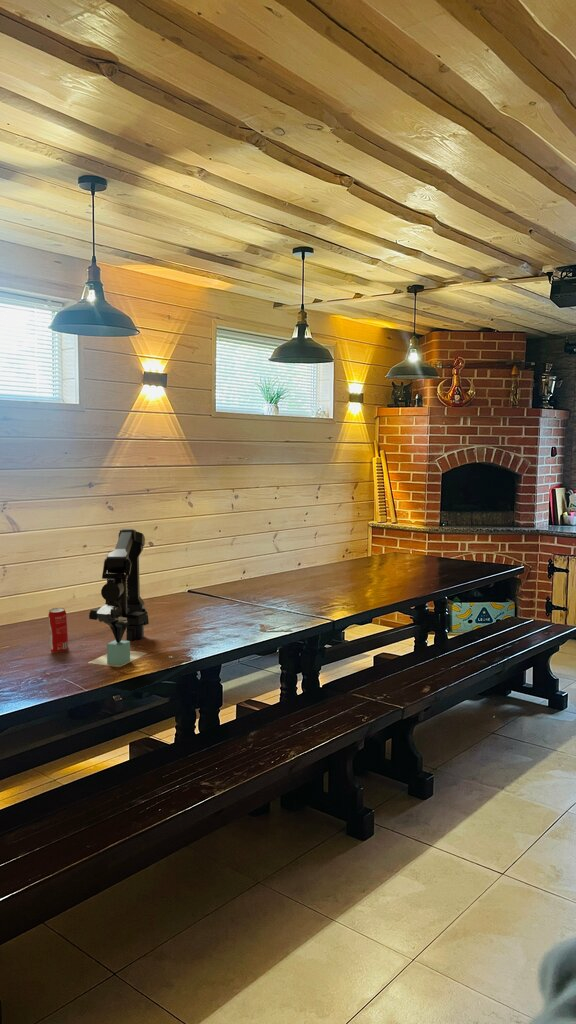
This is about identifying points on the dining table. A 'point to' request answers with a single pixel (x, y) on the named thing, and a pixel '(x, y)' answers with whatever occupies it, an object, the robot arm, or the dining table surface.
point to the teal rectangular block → (118, 652)
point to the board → (103, 661)
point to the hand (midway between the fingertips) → (118, 642)
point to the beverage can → (58, 630)
